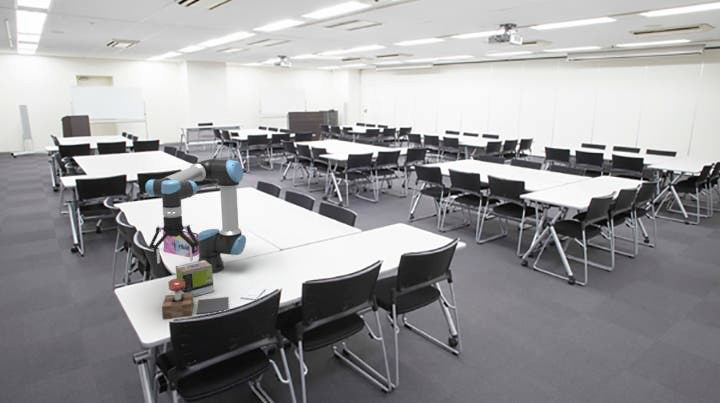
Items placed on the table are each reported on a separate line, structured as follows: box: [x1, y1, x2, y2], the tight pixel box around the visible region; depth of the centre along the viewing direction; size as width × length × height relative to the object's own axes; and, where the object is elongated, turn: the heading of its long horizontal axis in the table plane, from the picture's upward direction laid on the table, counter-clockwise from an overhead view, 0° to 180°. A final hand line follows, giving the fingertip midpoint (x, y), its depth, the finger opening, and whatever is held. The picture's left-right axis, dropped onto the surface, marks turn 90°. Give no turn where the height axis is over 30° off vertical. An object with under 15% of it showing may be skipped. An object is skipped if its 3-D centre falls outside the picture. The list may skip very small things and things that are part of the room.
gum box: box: [162, 230, 199, 258], centre depth 270 cm, size 24×8×14 cm, turn 67°
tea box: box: [175, 260, 215, 298], centre depth 215 cm, size 15×10×15 cm
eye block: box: [161, 293, 195, 320], centre depth 195 cm, size 12×12×6 cm
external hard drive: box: [240, 286, 266, 301], centre depth 216 cm, size 2×8×12 cm
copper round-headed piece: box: [168, 277, 186, 302], centre depth 194 cm, size 7×7×15 cm
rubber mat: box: [195, 296, 230, 316], centre depth 202 cm, size 14×14×1 cm
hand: (175, 261), depth 191 cm, fingers open, 13 cm apart
